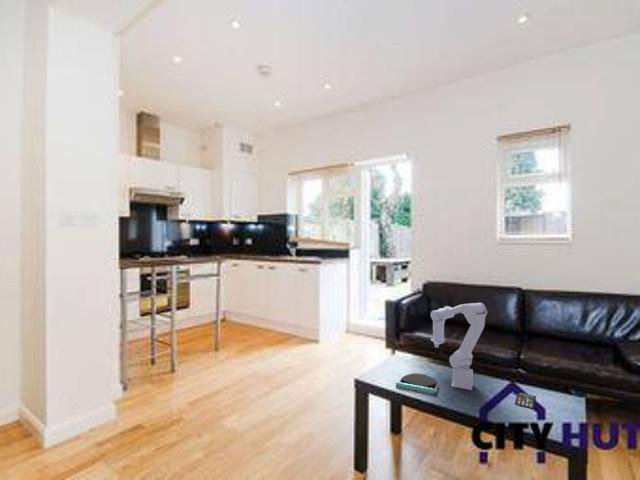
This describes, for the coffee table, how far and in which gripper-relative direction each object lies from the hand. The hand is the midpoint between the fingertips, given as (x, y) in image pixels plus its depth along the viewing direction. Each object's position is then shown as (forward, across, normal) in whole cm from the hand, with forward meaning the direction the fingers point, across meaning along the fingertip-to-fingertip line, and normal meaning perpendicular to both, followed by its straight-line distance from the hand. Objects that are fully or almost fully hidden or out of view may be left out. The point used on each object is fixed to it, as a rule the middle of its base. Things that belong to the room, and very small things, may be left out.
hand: (438, 356), depth 188 cm
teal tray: (+9, +22, -7) cm, 25 cm away
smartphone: (+10, +14, +40) cm, 44 cm away
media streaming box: (+10, +17, -7) cm, 21 cm away
